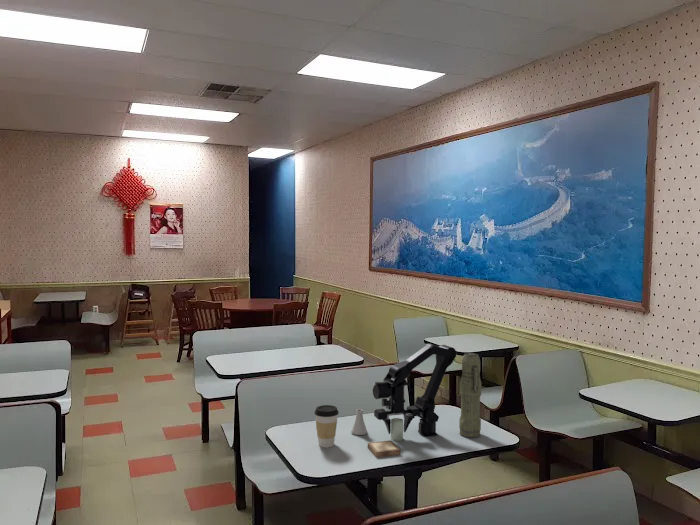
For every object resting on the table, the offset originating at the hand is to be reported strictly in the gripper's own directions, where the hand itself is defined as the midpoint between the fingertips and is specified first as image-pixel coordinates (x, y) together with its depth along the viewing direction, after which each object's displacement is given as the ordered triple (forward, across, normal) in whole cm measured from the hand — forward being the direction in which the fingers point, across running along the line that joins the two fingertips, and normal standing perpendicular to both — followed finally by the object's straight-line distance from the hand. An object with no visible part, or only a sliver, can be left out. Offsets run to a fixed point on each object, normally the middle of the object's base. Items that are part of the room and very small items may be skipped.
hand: (396, 432), depth 236 cm
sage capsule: (+3, 0, 0) cm, 3 cm away
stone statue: (+3, -32, +4) cm, 32 cm away
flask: (+3, +13, -11) cm, 17 cm away
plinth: (+2, +10, +11) cm, 15 cm away
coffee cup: (+3, +30, -2) cm, 30 cm away
